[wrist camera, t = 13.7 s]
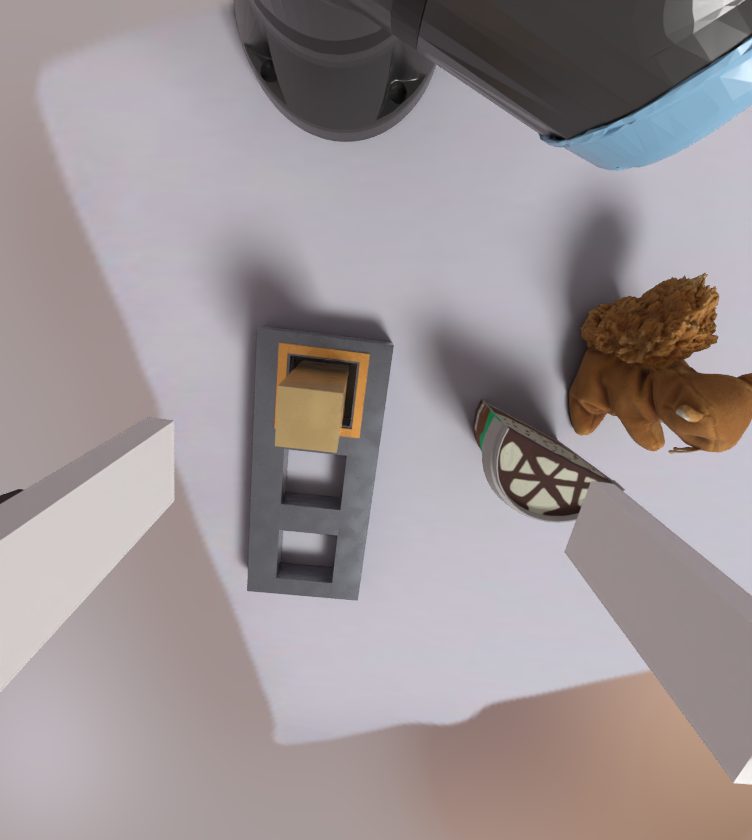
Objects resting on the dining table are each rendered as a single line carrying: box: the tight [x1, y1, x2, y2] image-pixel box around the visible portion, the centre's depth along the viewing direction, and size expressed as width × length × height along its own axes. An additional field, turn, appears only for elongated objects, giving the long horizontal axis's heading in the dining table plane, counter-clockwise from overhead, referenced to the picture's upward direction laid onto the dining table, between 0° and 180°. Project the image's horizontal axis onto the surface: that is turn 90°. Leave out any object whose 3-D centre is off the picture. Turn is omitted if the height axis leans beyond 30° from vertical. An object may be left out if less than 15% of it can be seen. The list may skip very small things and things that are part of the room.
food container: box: [474, 400, 625, 523], centre depth 36 cm, size 12×6×10 cm, turn 62°
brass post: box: [275, 360, 349, 453], centre depth 33 cm, size 4×4×11 cm
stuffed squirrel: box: [569, 273, 752, 454], centre depth 32 cm, size 10×14×13 cm
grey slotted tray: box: [247, 326, 394, 600], centre depth 40 cm, size 28×12×3 cm, turn 173°
